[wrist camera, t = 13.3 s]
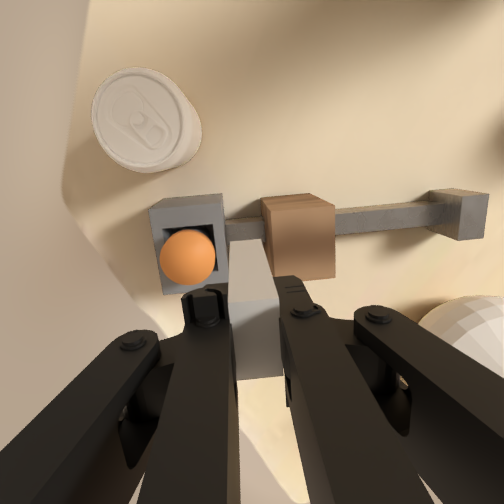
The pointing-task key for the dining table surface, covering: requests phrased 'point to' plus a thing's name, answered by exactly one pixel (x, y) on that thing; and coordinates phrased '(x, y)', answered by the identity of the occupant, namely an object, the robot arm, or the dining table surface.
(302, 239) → the carriage
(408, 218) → the rail
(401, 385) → the robot arm
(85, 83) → the dining table surface
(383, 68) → the dining table surface
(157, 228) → the housing
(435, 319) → the vase
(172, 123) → the beverage can
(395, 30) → the dining table surface
